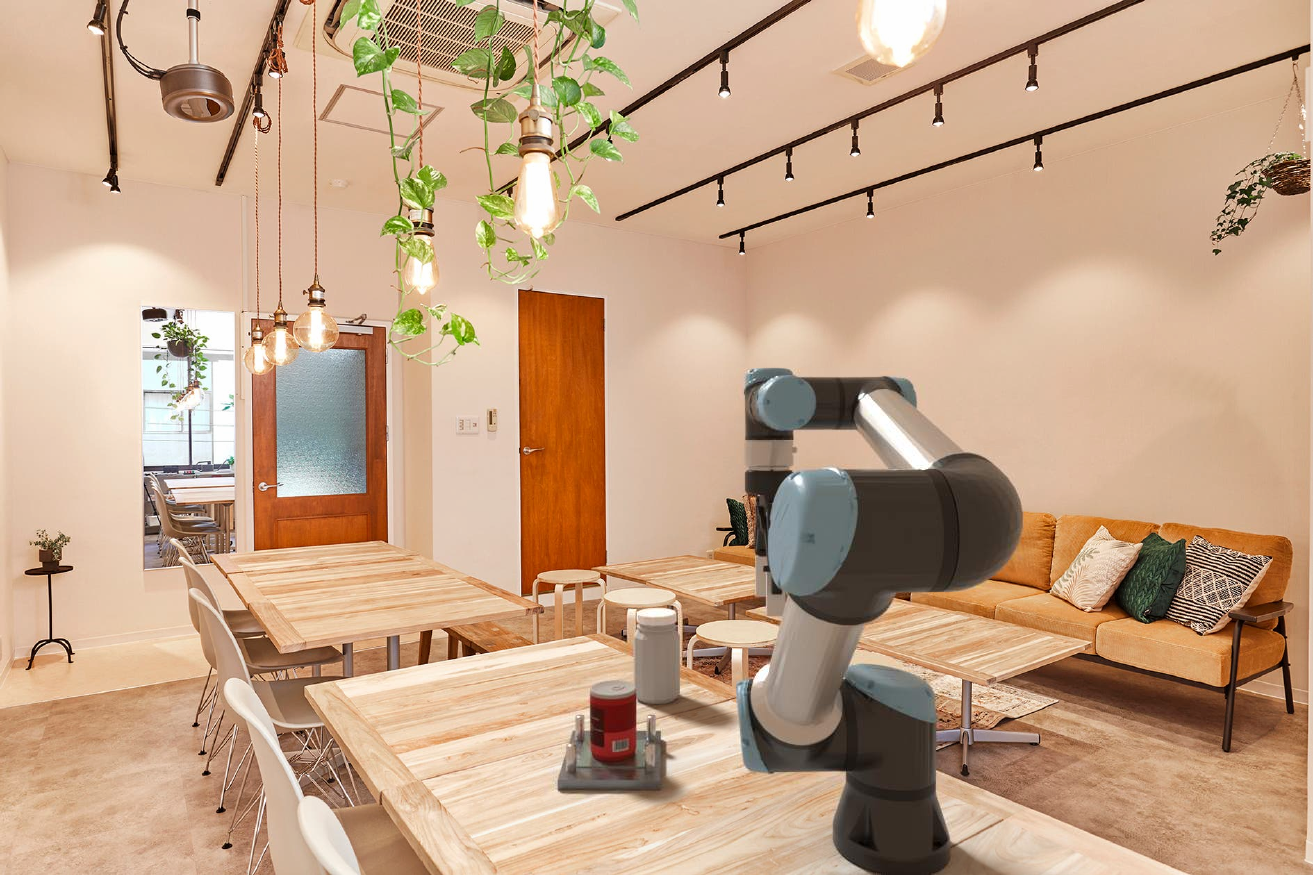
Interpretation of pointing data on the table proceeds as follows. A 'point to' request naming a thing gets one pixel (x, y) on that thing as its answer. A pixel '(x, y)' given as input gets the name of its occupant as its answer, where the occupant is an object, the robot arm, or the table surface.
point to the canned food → (613, 720)
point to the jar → (656, 656)
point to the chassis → (612, 763)
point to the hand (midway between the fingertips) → (769, 605)
